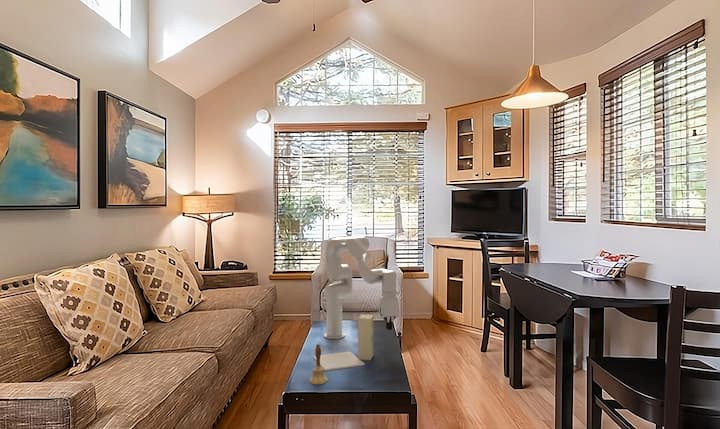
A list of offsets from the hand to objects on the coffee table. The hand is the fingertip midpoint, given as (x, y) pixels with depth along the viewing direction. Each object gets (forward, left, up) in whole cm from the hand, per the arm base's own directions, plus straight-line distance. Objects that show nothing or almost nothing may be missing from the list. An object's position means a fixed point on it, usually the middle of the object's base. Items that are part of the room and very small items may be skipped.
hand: (389, 329), depth 224 cm
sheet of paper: (0, -28, -13) cm, 31 cm away
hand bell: (+20, -44, -13) cm, 50 cm away
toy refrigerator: (0, -13, -13) cm, 19 cm away
